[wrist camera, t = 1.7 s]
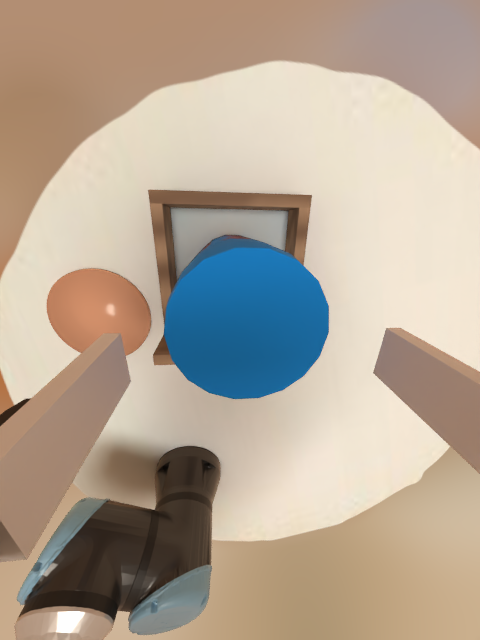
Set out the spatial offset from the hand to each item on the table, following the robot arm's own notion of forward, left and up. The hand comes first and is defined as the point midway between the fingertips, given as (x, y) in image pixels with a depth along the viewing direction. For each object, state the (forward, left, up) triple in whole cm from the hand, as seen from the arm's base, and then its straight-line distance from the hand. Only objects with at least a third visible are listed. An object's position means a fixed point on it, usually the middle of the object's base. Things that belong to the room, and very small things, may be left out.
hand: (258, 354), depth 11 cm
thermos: (0, 0, -28) cm, 28 cm away
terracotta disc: (-8, +22, -28) cm, 37 cm away
